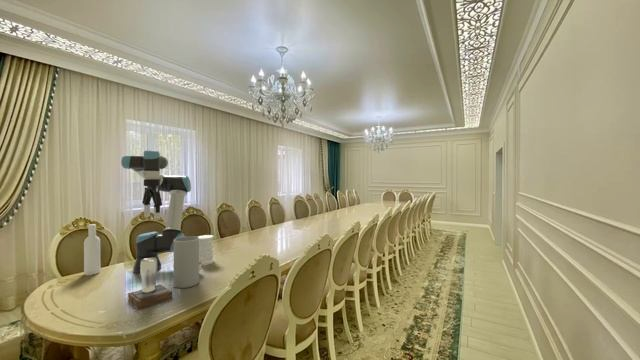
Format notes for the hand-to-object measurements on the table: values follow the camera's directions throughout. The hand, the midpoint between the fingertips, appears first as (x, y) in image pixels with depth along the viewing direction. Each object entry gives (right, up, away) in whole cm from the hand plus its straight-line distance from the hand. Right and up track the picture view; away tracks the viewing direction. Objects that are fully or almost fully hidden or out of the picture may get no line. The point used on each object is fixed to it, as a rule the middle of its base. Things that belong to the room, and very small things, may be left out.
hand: (152, 217), depth 148 cm
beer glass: (+9, -33, -17) cm, 38 cm away
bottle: (-48, -37, +18) cm, 63 cm away
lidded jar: (+15, -37, +15) cm, 43 cm away
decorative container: (+13, -37, +39) cm, 55 cm away
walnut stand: (+11, -37, -19) cm, 43 cm away
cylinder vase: (+18, -37, +1) cm, 41 cm away
